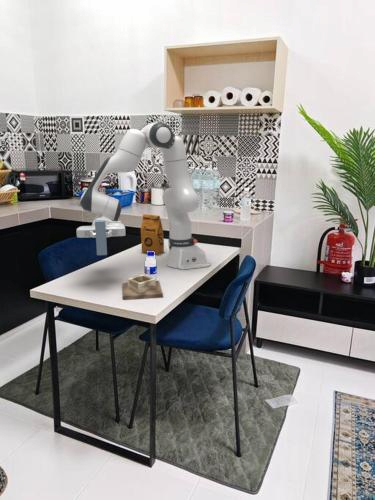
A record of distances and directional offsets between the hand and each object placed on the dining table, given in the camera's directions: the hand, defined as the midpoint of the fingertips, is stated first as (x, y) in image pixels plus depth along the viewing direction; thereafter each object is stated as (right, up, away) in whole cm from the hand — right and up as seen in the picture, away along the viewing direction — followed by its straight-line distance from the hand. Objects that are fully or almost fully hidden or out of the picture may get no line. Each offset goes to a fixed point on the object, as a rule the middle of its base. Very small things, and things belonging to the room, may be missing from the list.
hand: (100, 235), depth 160 cm
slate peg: (0, -7, +3) cm, 8 cm away
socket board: (+16, -23, +5) cm, 29 cm away
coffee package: (+16, -8, +63) cm, 65 cm away
